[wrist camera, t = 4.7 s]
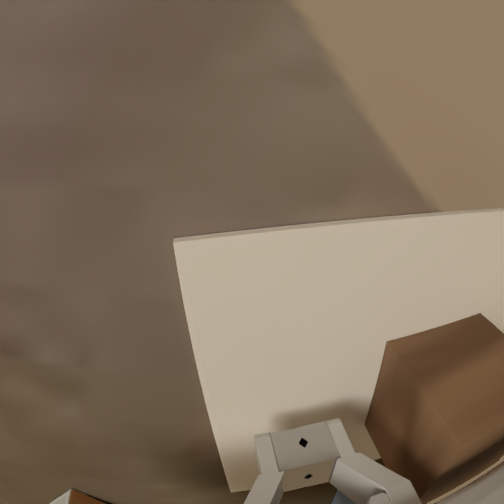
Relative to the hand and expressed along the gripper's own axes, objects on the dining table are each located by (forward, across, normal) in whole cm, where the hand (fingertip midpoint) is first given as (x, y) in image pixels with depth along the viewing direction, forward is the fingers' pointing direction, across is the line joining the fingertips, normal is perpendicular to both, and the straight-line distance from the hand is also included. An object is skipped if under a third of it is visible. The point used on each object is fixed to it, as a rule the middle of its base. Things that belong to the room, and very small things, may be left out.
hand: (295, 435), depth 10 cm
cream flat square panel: (+2, -5, 0) cm, 5 cm away
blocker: (+1, -6, 0) cm, 6 cm away
